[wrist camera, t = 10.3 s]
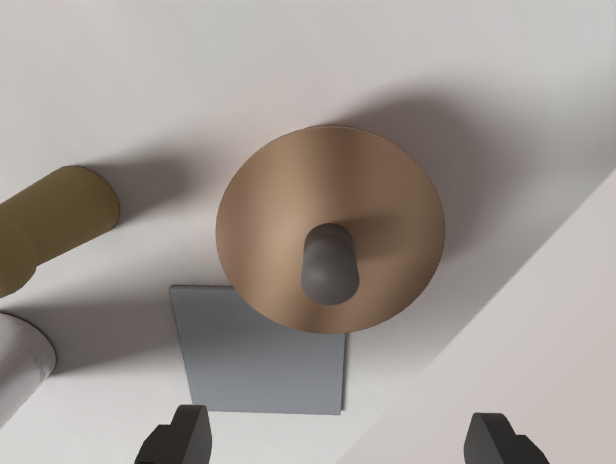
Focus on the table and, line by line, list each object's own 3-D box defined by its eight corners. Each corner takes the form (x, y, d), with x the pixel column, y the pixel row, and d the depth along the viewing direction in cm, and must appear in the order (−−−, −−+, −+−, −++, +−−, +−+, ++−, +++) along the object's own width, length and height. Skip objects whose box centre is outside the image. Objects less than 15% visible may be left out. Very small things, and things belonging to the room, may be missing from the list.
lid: (231, 323, 25) (212, 377, 21) (205, 126, 19) (170, 142, 15) (423, 326, 25) (446, 383, 20) (457, 125, 19) (501, 141, 14)
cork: (132, 198, 28) (28, 268, 18) (100, 248, 30) (-10, 336, 20) (62, 149, 26) (-95, 197, 16) (33, 205, 28) (-121, 278, 18)
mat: (195, 406, 38) (194, 410, 38) (171, 285, 31) (169, 288, 31) (340, 411, 38) (340, 415, 37) (347, 289, 31) (347, 292, 30)
